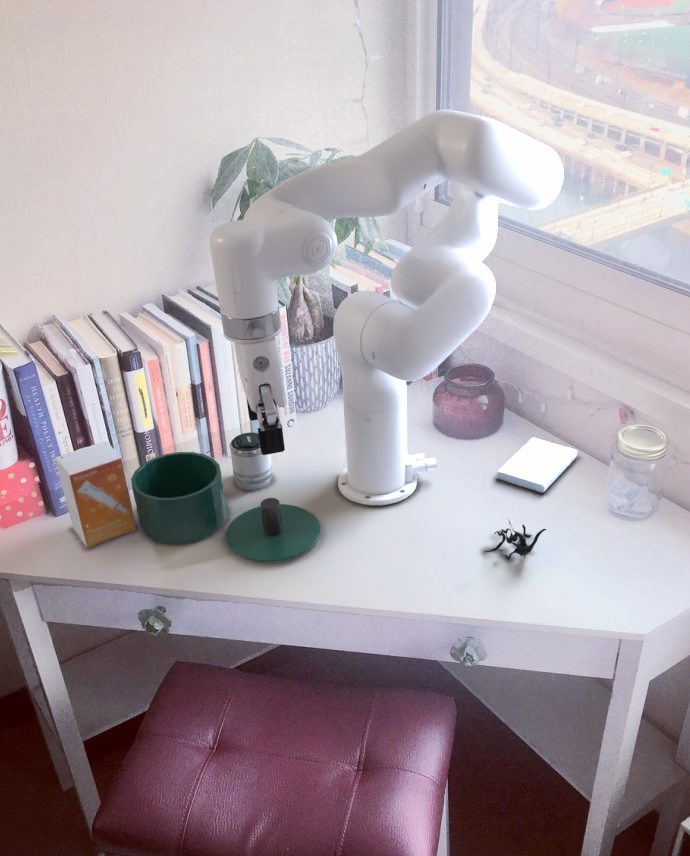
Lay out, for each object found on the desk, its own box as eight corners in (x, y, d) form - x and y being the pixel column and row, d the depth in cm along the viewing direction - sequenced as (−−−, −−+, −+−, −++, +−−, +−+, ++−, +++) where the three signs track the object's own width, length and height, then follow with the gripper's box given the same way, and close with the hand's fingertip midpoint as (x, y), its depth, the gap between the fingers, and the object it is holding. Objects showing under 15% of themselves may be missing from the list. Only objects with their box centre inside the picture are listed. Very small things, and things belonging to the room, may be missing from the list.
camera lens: (239, 494, 144) (233, 452, 140) (230, 474, 149) (225, 433, 145) (277, 486, 146) (273, 444, 141) (267, 466, 151) (263, 425, 146)
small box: (87, 549, 134) (67, 475, 127) (72, 529, 139) (53, 456, 131) (138, 530, 138) (122, 457, 130) (122, 510, 142) (106, 439, 135)
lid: (310, 503, 142) (308, 470, 138) (329, 556, 130) (327, 521, 127) (221, 518, 139) (216, 485, 136) (233, 573, 128) (228, 539, 125)
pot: (221, 488, 146) (215, 446, 141) (231, 535, 135) (225, 491, 131) (139, 502, 144) (129, 459, 139) (142, 550, 133) (133, 506, 129)
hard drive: (496, 479, 145) (531, 444, 153) (543, 494, 141) (577, 457, 149) (496, 470, 144) (532, 436, 152) (544, 485, 140) (578, 449, 148)
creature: (474, 552, 131) (507, 571, 125) (471, 518, 129) (504, 536, 122) (519, 535, 134) (553, 553, 127) (516, 502, 132) (551, 519, 125)
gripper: (293, 343, 110) (305, 461, 120) (267, 292, 124) (281, 401, 134) (232, 353, 109) (250, 472, 119) (213, 300, 123) (231, 410, 133)
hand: (266, 434), depth 127 cm, fingers open, 9 cm apart
